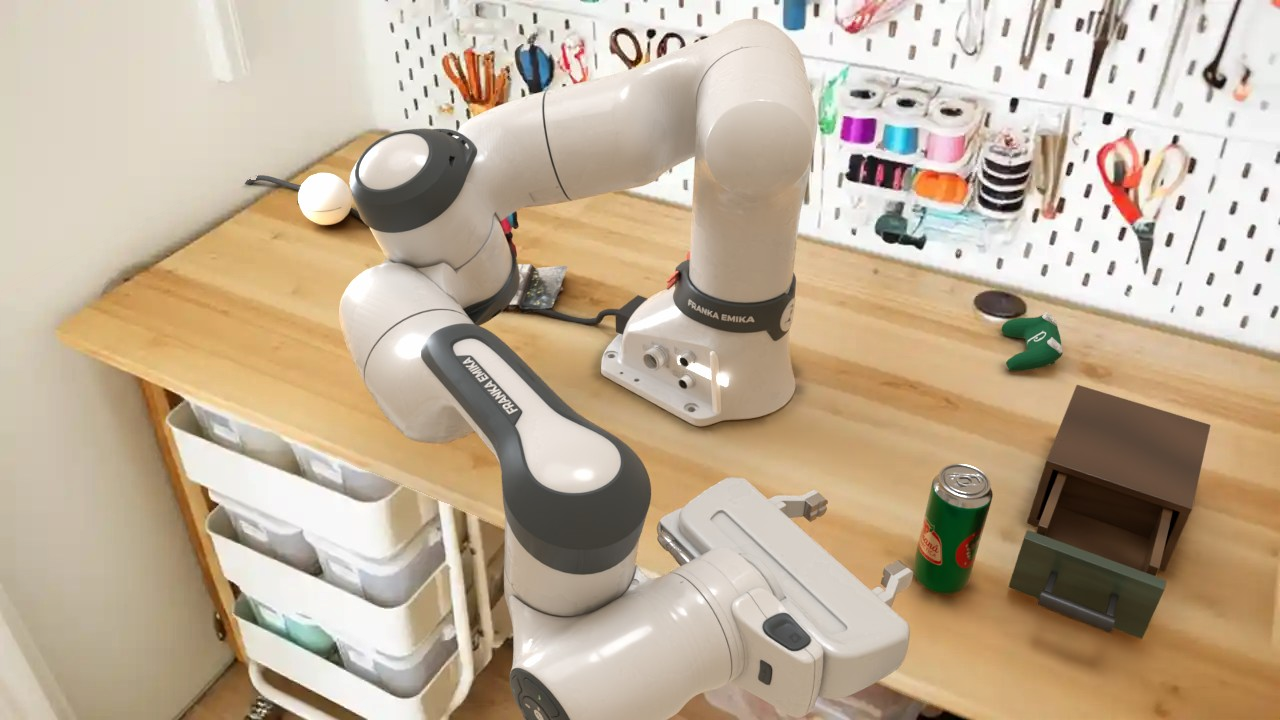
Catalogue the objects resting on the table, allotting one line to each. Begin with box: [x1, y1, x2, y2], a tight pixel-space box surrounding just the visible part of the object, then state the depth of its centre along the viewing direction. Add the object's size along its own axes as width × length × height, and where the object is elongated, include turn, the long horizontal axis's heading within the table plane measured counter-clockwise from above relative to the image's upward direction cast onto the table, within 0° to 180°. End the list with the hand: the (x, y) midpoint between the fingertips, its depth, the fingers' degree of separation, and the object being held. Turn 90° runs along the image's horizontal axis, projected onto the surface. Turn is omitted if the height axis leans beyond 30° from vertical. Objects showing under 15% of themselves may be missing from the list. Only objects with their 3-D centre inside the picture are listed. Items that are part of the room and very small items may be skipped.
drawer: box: [1008, 471, 1173, 640], centre depth 93 cm, size 16×11×6 cm
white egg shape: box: [296, 172, 353, 226], centre depth 146 cm, size 10×7×7 cm
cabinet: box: [1026, 384, 1211, 573], centre depth 102 cm, size 14×13×8 cm
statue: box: [496, 211, 569, 314], centre depth 131 cm, size 11×9×15 cm
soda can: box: [912, 463, 994, 595], centre depth 93 cm, size 5×5×12 cm
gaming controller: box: [1001, 311, 1064, 372], centre depth 124 cm, size 9×4×6 cm
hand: (862, 534), depth 83 cm, fingers open, 8 cm apart
